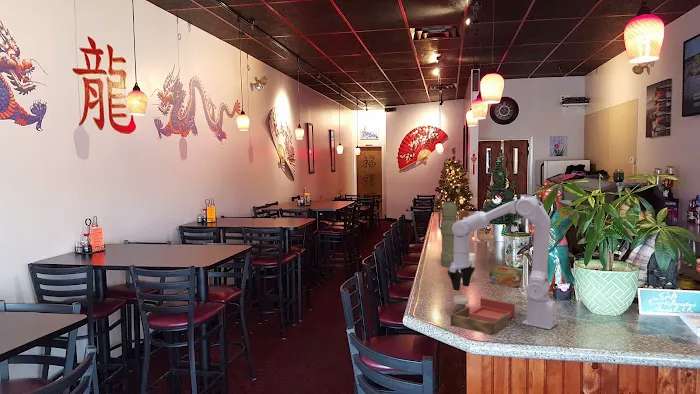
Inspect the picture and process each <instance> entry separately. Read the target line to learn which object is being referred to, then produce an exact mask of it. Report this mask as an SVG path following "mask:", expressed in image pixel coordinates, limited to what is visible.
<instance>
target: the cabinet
mask: <svg viewBox="0 0 700 394" xmlns="http://www.w3.org/2000/svg"><path fill="white" fill-rule="evenodd" d="M469 313H470V307H469V306H466V308H464V309H462V310H460V311H458V312H457V311H456V312H454V313H452V314H451V315H450V326H453V327H457V328H463V329H467V330H471V331H476V332H480V333H484V334H487V335H488V334H489V335H494V334H496V333H498V332H499V331H502V329H504V328H506V327H507V326H509V319H508V315H504V316H502V317H501V318H499V319H498V320H496V321H494V322H493V323H490V322H485V321H481V320H476V319H472V318H469Z"/></svg>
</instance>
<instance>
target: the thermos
mask: <svg viewBox="0 0 700 394" xmlns="http://www.w3.org/2000/svg"><path fill="white" fill-rule="evenodd" d="M441 213H442V218H441ZM457 213H458V215H457ZM461 214H462V213H461V211H460V210H458V209H457V205H456V202H455V201H444V202H443V204H442V209H441V210H439V212H438V215H437V217H438V218H437V219H438V220H437V221H438V225H437V226H438V229H439V230H440V234H441V253H440V265H441V267H444V268H450V266H452V265H451V263H452V262H454V233H453V232H452V226H453V224H454V223H455V222H456V221H460V220H462V219H461V217H462V215H461ZM457 216H458V220H457ZM441 219H442V220H441Z"/></svg>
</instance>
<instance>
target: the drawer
mask: <svg viewBox="0 0 700 394" xmlns="http://www.w3.org/2000/svg"><path fill="white" fill-rule="evenodd" d="M515 312H516V304H515V303H511V302H505V301H500V300H494V299H489V298H484V297H481V298H480V306H479V307H477V308H476V309H474V310H472V311H469V317H468V318H472V319H476V320H481V321H485V322H490V323H493V322H494V321H496V320H498V319H499V318H501V317H502V316H504V315H508V320H509V319H510V318H516V315H515V314H516V313H515Z"/></svg>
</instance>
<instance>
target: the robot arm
mask: <svg viewBox="0 0 700 394" xmlns="http://www.w3.org/2000/svg"><path fill="white" fill-rule="evenodd" d="M507 214H514V215H516V214H518V215H519V216H522V217H523V218H525V219H527V220H528V221H529V222H531V223H532V224H533V225H534V235H533V236H534V237H533V247H532V261H531V262H532V263H531V264H532V265H531V272H530V276H529V281H528V284H527V285H526V288H525V292H526V319H525V320H523V321H522V322H521V324H523V325H527V326H531V327H532V326H533V327H536V328H542V329H545V330H551V329H553V328H554V327H555V326H556V325H558V321H557V320H558V305H557V302H556V301H554V300H551V299H550V296H549V295H548V293H549V291H550V289H551V284H550V281H549V279H548V278H549V273H548V265H549V264H548V261H549V250H550V236H551V227H552V226H551V223H552V221H551V218H550V216H549V215H548V212H547V211H546V209H545V208H544V205H543V203H542V202H541V201H540V199H538V198H536V197H534V196H533V195H532V196H531V195H530V196H526V197H523V198H519V199H515V200H511V201H509V202H505V203H504V204H502V205H499V206H497V207H496V208H493V209H492V210H488V211H487V212H484V211H483V210H482V211H481V210H480V211H479V210H476V211H474V213H473V214H471V215H469V216H464V217H463V218H462V219H461V220H460V221H459V220H457V221H456V222H455V223H454V224H453V226H452V232H453V233H454V262H452V263H451V265H452V266H450V267H449V270H447V275H448V276H449V278H450V281H451V285H452V289H453V291H460V290H461V284H462V286H464V287H467V288H468V287H470V283H471V282H470V280H471V276H472V277H473V273H474V272H475V270H476V267H471V266H473V261H469V253H470V235H471V233H473V232H476V231H478V230H481V229H483V228H485V227H487V226H489V224H490V221H492V220H494V219H497V218H499V217H502V216H505V215H507ZM459 270H460V271H461V272H459ZM461 278H462V282H461ZM471 281H472V280H471Z"/></svg>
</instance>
